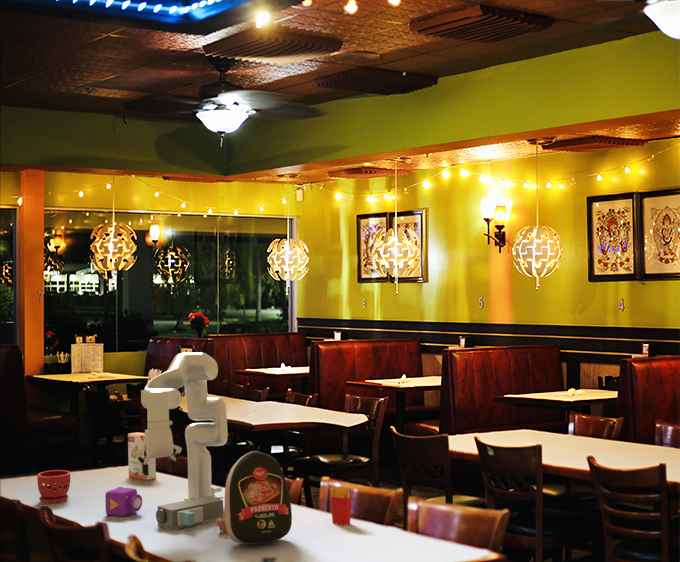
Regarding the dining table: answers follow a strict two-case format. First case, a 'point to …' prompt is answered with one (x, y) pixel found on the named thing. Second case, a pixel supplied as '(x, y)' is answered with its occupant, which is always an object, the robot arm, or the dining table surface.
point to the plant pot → (53, 486)
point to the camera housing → (168, 512)
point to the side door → (190, 516)
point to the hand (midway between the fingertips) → (158, 473)
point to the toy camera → (122, 501)
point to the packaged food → (257, 500)
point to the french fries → (340, 505)
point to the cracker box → (134, 464)
